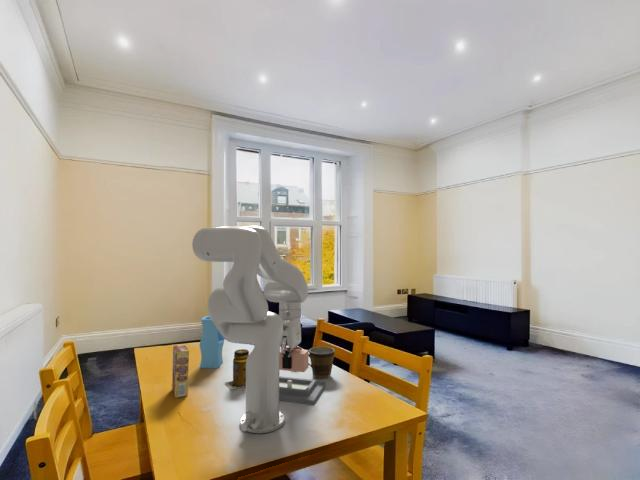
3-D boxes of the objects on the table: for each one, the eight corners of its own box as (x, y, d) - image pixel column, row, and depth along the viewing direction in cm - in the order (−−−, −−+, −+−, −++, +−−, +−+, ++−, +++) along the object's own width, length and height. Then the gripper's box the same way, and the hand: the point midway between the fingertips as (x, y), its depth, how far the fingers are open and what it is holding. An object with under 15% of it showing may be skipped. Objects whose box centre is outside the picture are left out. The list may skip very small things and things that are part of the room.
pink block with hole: (271, 368, 123) (271, 351, 123) (276, 364, 128) (276, 347, 128) (304, 372, 120) (304, 354, 120) (308, 367, 125) (308, 350, 125)
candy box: (189, 395, 119) (189, 350, 120) (175, 398, 117) (175, 352, 117) (184, 386, 127) (185, 343, 127) (171, 389, 125) (172, 345, 125)
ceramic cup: (328, 370, 144) (328, 345, 145) (338, 378, 135) (338, 352, 135) (298, 374, 140) (298, 348, 140) (306, 383, 130) (306, 356, 131)
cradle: (313, 404, 113) (313, 393, 113) (250, 396, 119) (250, 386, 119) (325, 385, 128) (325, 375, 128) (269, 379, 134) (269, 370, 134)
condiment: (253, 385, 129) (253, 351, 129) (231, 390, 124) (231, 355, 124) (246, 378, 135) (246, 347, 135) (224, 383, 130) (224, 350, 130)
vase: (218, 368, 146) (218, 319, 147) (199, 368, 147) (199, 319, 147) (223, 361, 154) (224, 315, 155) (205, 361, 154) (206, 315, 155)
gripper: (292, 318, 115) (291, 375, 115) (307, 309, 131) (307, 358, 131) (270, 317, 117) (270, 373, 116) (288, 308, 133) (288, 357, 133)
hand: (289, 365), depth 124 cm, fingers closed on pink block with hole, 5 cm apart
